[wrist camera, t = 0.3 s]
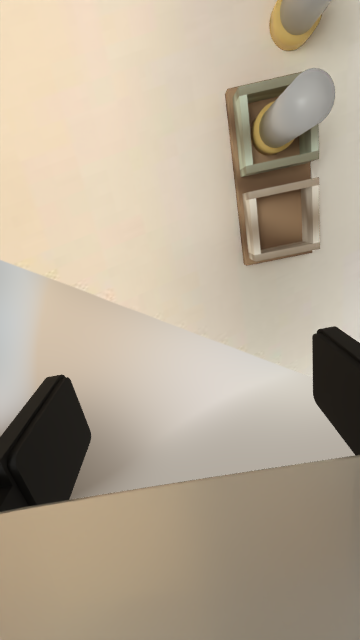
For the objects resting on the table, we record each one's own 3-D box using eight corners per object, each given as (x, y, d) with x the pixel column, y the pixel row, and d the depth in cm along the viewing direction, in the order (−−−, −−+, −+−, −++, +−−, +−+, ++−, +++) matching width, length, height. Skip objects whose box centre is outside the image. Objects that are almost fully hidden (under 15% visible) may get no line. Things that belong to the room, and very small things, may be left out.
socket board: (225, 94, 32) (232, 76, 28) (302, 76, 32) (322, 55, 27) (243, 263, 39) (252, 269, 35) (307, 251, 39) (323, 255, 35)
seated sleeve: (248, 112, 32) (280, 69, 22) (290, 102, 31) (340, 55, 22) (252, 159, 33) (283, 137, 24) (292, 150, 33) (339, 125, 24)
